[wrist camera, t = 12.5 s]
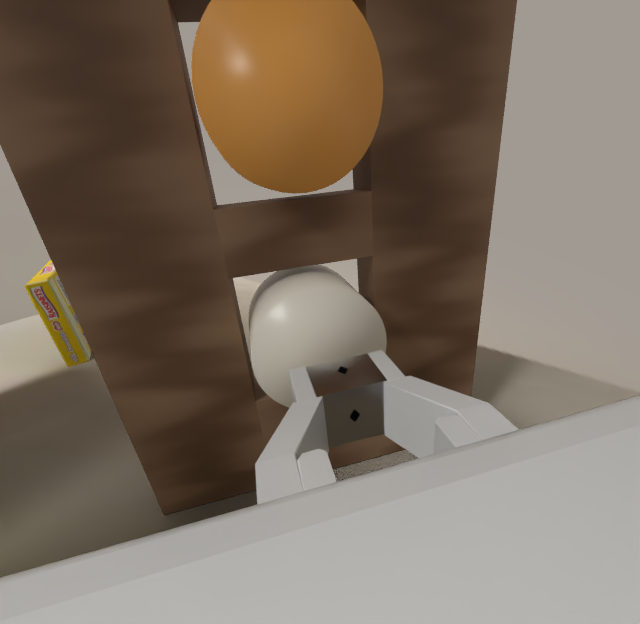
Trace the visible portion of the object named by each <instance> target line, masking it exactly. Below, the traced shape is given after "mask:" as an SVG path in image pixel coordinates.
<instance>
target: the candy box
mask: <svg viewBox="0 0 640 624" xmlns="http://www.w3.org/2000/svg"><path fill="white" fill-rule="evenodd" d="M25 288H26V290H27V292H28V294H29V296H30V298H31V300H32V302H33V304H34V306H35V308H36V309H37V311H38V313H39V315H40V317H41V319H42V320H43V322H44V324H45V326H46V328H47V330H48V331H49V333H50V335H51V337H52V339H53V341H54V342H55V344H56V346H57V348H58V350H59V352H60V353H61V355H62V357H63V359H64V361H65V362H66V364H67V366H68V367H70V366H73V365H77V364H80V363H84V362H87V361H89V360H90V357H91V352H92V351H91V349H90V346H89V344H88V342H87V340H86V337H85V335H84V333H83V330H82V328H81V326H80V324H79V321H78V319H77V317H76V315H75V312H74V310H73V308H72V306H71V303H70V301H69V299H68V297H67V294H66V292H65V290H64V288H63V285H62V283H61V281H60V278H59V276H58V274H57V272H56V269H55V267H54V265H53V263H52V260H50V261H49V262H48V263H47V264H46V265H45V266H44V267H43V268H42V269H41V270H40V271H39V272H38V273H37V274H36V275H35V276H34V277H33V278H32V279H31V280H30V281H29V282H28V283H27V284H26V285H25Z"/></svg>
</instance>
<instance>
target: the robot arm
mask: <svg viewBox="0 0 640 624" xmlns="http://www.w3.org/2000/svg"><path fill="white" fill-rule="evenodd" d="M289 377H290V383H291V389H292V396H293V402H294V403H292V405H291V406H290V408H289V410H288V411H287V413H286V415H285V416H284V418H283V419H282V421H281V423H280V424H279V426H278V428H277V429H276V431H275V432H274V434H273V436H272V437H271V439H270V441H269V442H268V444H267V445H266V447H265V449H264V450H263V452H262V454H261V455H260V457H259V459H258V460H257V462H256V463H255V471H256V490H257V505H253V506H250V507H246V508H243V509H239V510H236V511H232V512H229V513H225V514H222V515H218V516H215V517H211V518H208V519H204V520H201V521H197V522H194V523H190V524H187V525H183V526H180V527H176V528H173V529H169V530H166V531H162V532H159V533H155V534H152V535H148V536H144V537H141V538H137V539H134V540H130V541H127V542H123V543H120V544H116V545H113V546H109V547H106V548H102V549H99V550H95V551H92V552H88V553H85V554H81V555H78V556H74V557H71V558H67V559H64V560H60V561H57V562H53V563H50V564H46V565H43V566H39V567H36V568H32V569H29V570H25V571H22V572H18V573H15V574H11V575H8V576H4V577H0V624H640V395H638V396H635V397H631V398H628V399H624V400H621V401H617V402H614V403H610V404H607V405H603V406H600V407H596V408H593V409H589V410H586V411H582V412H579V413H576V414H572V415H569V416H565V417H562V418H558V419H555V420H551V421H548V422H544V423H541V424H537V425H534V426H530V427H527V428H523V429H520V430H519V429H518V428H517V427H515V426H514V425H513V424H512V423H511V422H510V421H509V420H508V419H506V418H505V417H504V416H503V415H502V414H501V413H500V412H499V411H497V410H496V409H495V408H494V407H493V406H492V405H491V404H490V403H487V402H485V401H482V400H479V399H476V398H473V397H470V396H467V395H464V394H462V393H459V392H456V391H453V390H450V389H447V388H444V387H441V386H439V385H436V384H433V383H430V382H427V381H424V380H421V379H418V378H415V377H413V376H406V377H405V375H404V374H403V373H402V372H401V371H400V370H399V369H398V367H397V366H396V365H395V364H394V363H393V362H392V360H391V359H390V358H389V357H388V356H387V355H386V354H385V352H384V351H382V350H378V351H374V352H370V353H366V354H363V355H358V356H354V357H350V358H346V359H342V360H338V361H336V360H335V361H330V362H325V363H320V364H315V365H310V366H305V367H300V368H295V369H291V370H289ZM382 434H385V436H386V437H388V438H389V439H391V440H392V441H394V442H395V443H397V444H398V445H400V446H401V447H403V448H404V449H406V450H407V451H409V452H410V453H412V454H413V455H415V456H416V457H418V459H414V460H411V461H407V462H404V463H400V464H397V465H393V466H390V467H386V468H383V469H379V470H376V471H372V472H369V473H366V474H362V475H359V476H355V477H352V478H348V479H345V480H341V481H338V482H337V481H336V478H335V475H334V472H333V469H332V466H331V463H330V460H329V457H328V452H329V448H333V447H336V446H340V445H343V444H346V443H350V442H353V441H356V440H361V439H365V438H369V437H374V436H378V435H382Z"/></svg>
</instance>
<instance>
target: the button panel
mask: <svg viewBox="0 0 640 624" xmlns="http://www.w3.org/2000/svg"><path fill="white" fill-rule="evenodd" d="M352 1H353V2H354V3H355V4H356V6H357V7H358V9H359V10H360V12H361V13H362V15H363V16H364V18H365V20H366V22H367V24H368V26H369V28H370V30H371V32H372V35H373V37H374V40H375V42H376V45H377V49H378V53H379V56H380V61H381V67H382V76H383V101H382V108H381V115H380V119H379V123H378V127H377V129H376V132H375V135H374V137H373V140H372V142H371V144H370V146H369V147H368V149H367V151H366V152H365V154H364V156H363V157H362V159H361V160H360V161H359V162H358V163H357V165H356V166H355V167H354V168H353V183H354V189H353V190H344V191H336V192H327V193H320V194H310V195H302V196H293V197H285V198H276V199H268V200H259V201H251V202H242V203H234V204H225V205H217V203H216V199H215V194H214V189H213V185H212V180H211V175H210V171H209V166H208V162H207V157H206V152H205V148H204V143H203V138H202V134H201V129H200V124H199V120H198V115H197V111H196V106H195V101H194V96H193V92H192V87H191V82H190V78H189V73H188V68H187V64H186V60H185V55H184V50H183V45H182V40H181V36H180V31H179V27H178V22H200V21H201V18H202V16H203V14H204V12H205V10H206V8H207V6H208V4H209V3H210V2H211V0H0V145H1V147H2V150H3V152H4V154H5V156H6V159H7V161H8V163H9V165H10V167H11V170H12V172H13V174H14V177H15V179H16V181H17V183H18V185H19V188H20V190H21V193H22V195H23V197H24V199H25V202H26V204H27V206H28V208H29V210H30V213H31V215H32V217H33V220H34V222H35V224H36V226H37V229H38V231H39V233H40V235H41V238H42V240H43V242H44V244H45V247H46V249H47V251H48V254H49V256H50V258H51V260H52V263H53V265H54V267H55V269H56V272H57V274H58V276H59V278H60V281H61V283H62V285H63V288H64V290H65V292H66V294H67V297H68V299H69V301H70V303H71V306H72V308H73V310H74V312H75V315H76V317H77V319H78V321H79V324H80V326H81V328H82V330H83V333H84V335H85V337H86V340H87V342H88V344H89V346H90V349H91V351H92V353H93V355H94V358H95V360H96V362H97V364H98V367H99V369H100V371H101V373H102V376H103V378H104V380H105V382H106V385H107V387H108V389H109V392H110V394H111V396H112V398H113V401H114V403H115V405H116V407H117V410H118V412H119V414H120V416H121V419H122V421H123V423H124V425H125V428H126V430H127V432H128V435H129V437H130V439H131V441H132V444H133V446H134V448H135V450H136V453H137V455H138V457H139V459H140V462H141V464H142V466H143V468H144V471H145V473H146V475H147V477H148V480H149V482H150V484H151V487H152V489H153V491H154V493H155V496H156V498H157V500H158V502H159V505H160V507H161V509H162V511H163V514H164V515H166V514H170V513H173V512H177V511H181V510H184V509H188V508H192V507H195V506H199V505H203V504H206V503H210V502H214V501H217V500H221V499H225V498H228V497H232V496H236V495H239V494H243V493H247V492H250V491H254V490H256V471H255V463H256V462H257V460H258V459H259V457H260V455H261V454H262V452H263V450H264V449H265V447H266V445H267V444H268V442H269V441H270V439H271V437H272V436H273V434H274V432H275V431H276V429H277V428H278V426H279V424H280V423H281V421H282V419H283V418H284V416H285V415H286V413H287V411H288V410H289V407H286V406H284V405H282V404H280V403H278V402H276V401H275V400H273V399H272V398H271V397H269V396H268V395H267V394H266V393H265V392H264V391H263V389H262V388H261V387H260V385H259V384H258V382H257V380H256V377H255V375H254V371H253V368H252V366H251V362H250V357H249V352H248V348H247V343H246V338H245V334H244V329H243V324H242V320H241V315H240V310H239V306H238V301H237V296H236V292H235V287H234V282H233V278H235V277H241V276H248V275H254V274H260V273H267V272H273V271H280V270H286V269H292V268H299V267H305V266H312V265H318V264H324V263H330V262H337V261H343V260H350V259H356V258H357V265H358V282H359V283H358V284H359V294H360V295H361V296H363V297H364V298H365V299H366V300H367V301H368V302H369V303H370V304H371V305H372V306H373V307H374V308H375V310H376V311H377V312H378V314H379V315H380V317H381V319H382V321H383V324H384V327H385V331H386V339H387V344H386V352H385V354H386V355H387V356H388V357H389V358H390V359H391V360H392V362H393V363H394V364H395V365H396V366H397V367H398V369H399V370H400V371H401V372H402V373H403V374H404V375H405V377H406V376H413V377H415V378H418V379H421V380H424V381H427V382H430V383H433V384H436V385H439V386H441V387H444V388H447V389H450V390H453V391H456V392H459V393H462V394H464V395H467V396H470V397H471V392H472V383H473V375H474V366H475V358H476V349H477V340H478V331H479V323H480V314H481V305H482V297H483V289H484V280H485V271H486V263H487V254H488V246H489V237H490V228H491V220H492V219H491V218H492V211H493V203H494V193H495V185H496V177H497V167H498V160H499V159H498V158H499V151H500V142H501V134H502V125H503V116H504V107H505V99H506V91H507V82H508V73H509V65H510V56H511V47H512V39H513V30H514V21H515V13H516V4H517V0H352ZM401 450H404V448H403V447H401V446H400V445H398V444H397V443H395V442H394V441H392V440H391V439H389V438H388V437H386V436H385V434H382V435H378V436H374V437H369V438H365V439H361V440H356V441H353V442H350V443H346V444H343V445H340V446H336V447H333V448H329V452H328V457H329V460H330V463H331V466H332V469H335V468H338V467H342V466H346V465H349V464H353V463H357V462H360V461H364V460H368V459H371V458H375V457H379V456H382V455H386V454H390V453H393V452H397V451H401Z"/></svg>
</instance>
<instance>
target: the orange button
mask: <svg viewBox="0 0 640 624" xmlns="http://www.w3.org/2000/svg"><path fill="white" fill-rule="evenodd" d="M192 84H193V90H194V96H195V100H196V104H197V108H198V111H199V114H200V117H201V119H202V122H203V125H204V127H205V129H206V131H207V133H208V135H209V137H210V138H211V140H212V142H213V143H214V145H215V146H216V147H217V149H218V151H219V152H220V153H221V155H222V156H223V158H224V159H225V160H226V162H227V163H229V165H230V166H231V167H232V168H233V169H234V170H235V171H236V172H237V173H238V174H240V175H241V176H242V177H244V178H245V179H247V180H249V181H250V182H252V183H254V184H256V185H259V186H262V187H264V188H268V189H271V190H275V191H279V192H284V193H285V192H286V193H307V192H312V191H316V190H319V189H322V188H325V187H327V186H329V185H331V184H333V183H335V182H337V181H338V180H340V179H341V178H343V177H344V176H345V175H346V174H348V173H349V172H350V171H351V170H352V169H353V168H354V167H355V166H356V165H357V163H358V162H359V161H360V160H361V159H362V157H363V156H364V154H365V152H366V151H367V149H368V147H369V146H370V144H371V142H372V140H373V137H374V135H375V132H376V129H377V127H378V123H379V119H380V115H381V108H382V101H383V76H382V67H381V61H380V56H379V53H378V49H377V45H376V42H375V40H374V37H373V35H372V32H371V30H370V28H369V26H368V24H367V22H366V20H365V18H364V16H363V15H362V13H361V12H360V10H359V9H358V7H357V6H356V4H355V3H354V2H353V1H352V0H211V2H210V3H209V4H208V6H207V8H206V10H205V12H204V14H203V16H202V18H201V21H200V24H199V27H198V29H197V32H196V36H195V41H194V46H193V53H192Z"/></svg>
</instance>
